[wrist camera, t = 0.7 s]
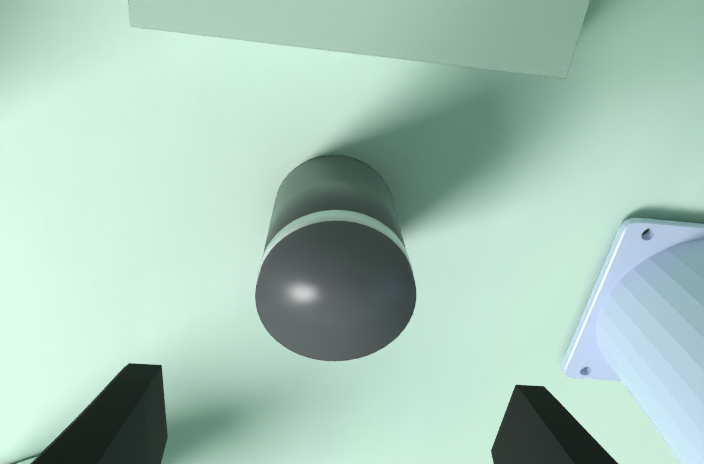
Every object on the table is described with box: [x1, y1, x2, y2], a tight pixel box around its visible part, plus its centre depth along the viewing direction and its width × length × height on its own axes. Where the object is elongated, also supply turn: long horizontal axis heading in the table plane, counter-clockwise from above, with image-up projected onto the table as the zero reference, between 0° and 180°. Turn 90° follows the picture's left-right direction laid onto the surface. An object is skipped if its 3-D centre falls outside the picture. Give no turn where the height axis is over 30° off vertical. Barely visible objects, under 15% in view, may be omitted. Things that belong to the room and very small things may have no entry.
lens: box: [255, 155, 416, 361], centre depth 16 cm, size 4×4×6 cm
